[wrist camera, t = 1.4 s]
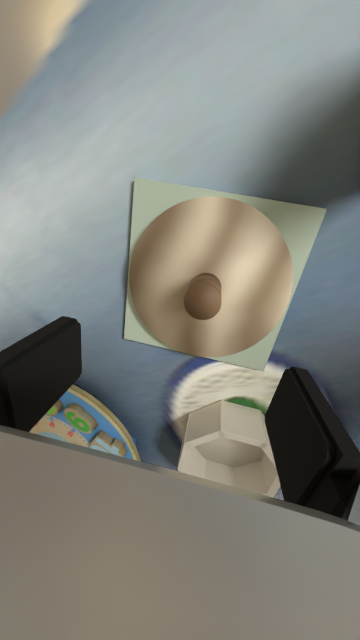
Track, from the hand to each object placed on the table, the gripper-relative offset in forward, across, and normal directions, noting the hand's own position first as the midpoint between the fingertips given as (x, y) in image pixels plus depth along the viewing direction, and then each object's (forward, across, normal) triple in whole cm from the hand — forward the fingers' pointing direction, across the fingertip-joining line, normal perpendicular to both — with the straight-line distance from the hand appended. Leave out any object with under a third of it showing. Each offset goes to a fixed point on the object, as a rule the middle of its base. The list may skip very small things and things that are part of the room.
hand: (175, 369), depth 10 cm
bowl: (+16, -9, +22) cm, 29 cm away
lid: (+16, -1, 0) cm, 16 cm away
